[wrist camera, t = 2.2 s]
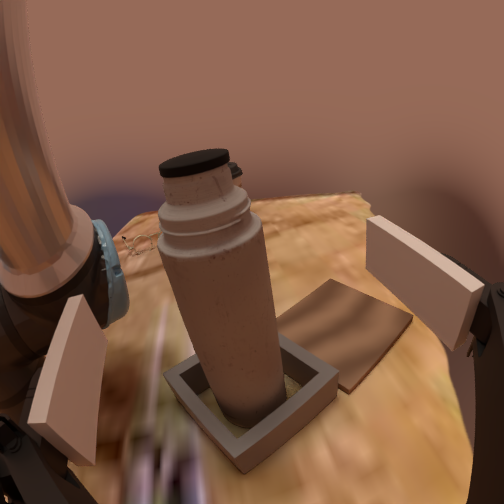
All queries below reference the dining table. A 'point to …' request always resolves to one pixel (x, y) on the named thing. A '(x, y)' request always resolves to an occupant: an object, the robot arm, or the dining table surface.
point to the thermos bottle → (222, 283)
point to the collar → (274, 425)
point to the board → (344, 329)
